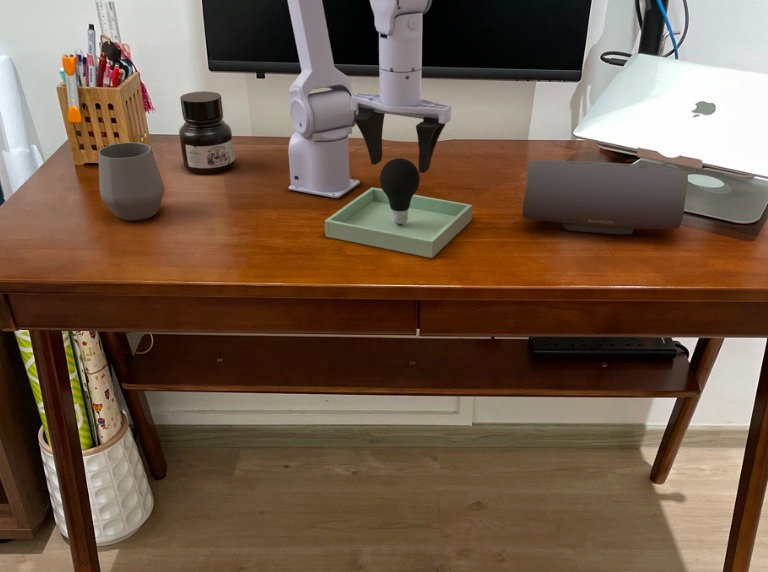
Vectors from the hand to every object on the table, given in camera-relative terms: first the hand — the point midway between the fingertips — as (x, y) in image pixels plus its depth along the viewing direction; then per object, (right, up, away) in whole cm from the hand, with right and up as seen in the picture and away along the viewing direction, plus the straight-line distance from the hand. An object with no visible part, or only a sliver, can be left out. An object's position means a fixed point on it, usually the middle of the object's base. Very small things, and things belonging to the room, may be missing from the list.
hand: (400, 166), depth 120 cm
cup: (-41, -5, +9) cm, 42 cm away
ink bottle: (-34, +8, +27) cm, 44 cm away
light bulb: (0, -8, +5) cm, 9 cm away
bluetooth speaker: (+30, -8, +6) cm, 31 cm away
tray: (0, -8, +5) cm, 9 cm away
